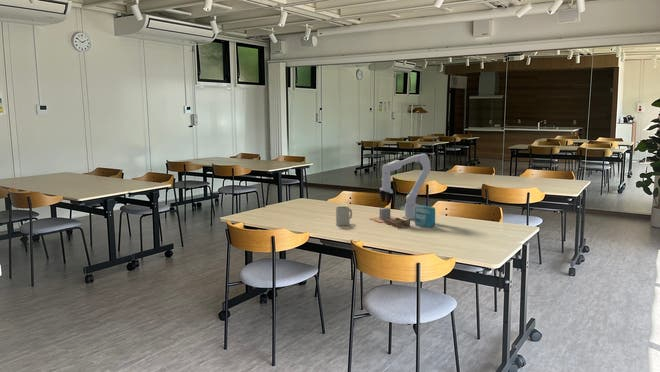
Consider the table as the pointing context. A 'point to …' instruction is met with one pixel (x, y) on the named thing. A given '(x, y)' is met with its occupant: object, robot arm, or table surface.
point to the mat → (383, 220)
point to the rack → (398, 222)
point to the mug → (343, 215)
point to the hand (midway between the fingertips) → (386, 202)
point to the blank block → (384, 213)
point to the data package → (425, 216)
